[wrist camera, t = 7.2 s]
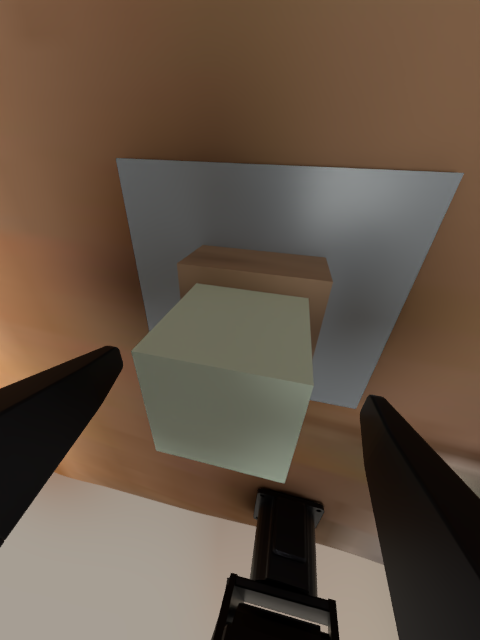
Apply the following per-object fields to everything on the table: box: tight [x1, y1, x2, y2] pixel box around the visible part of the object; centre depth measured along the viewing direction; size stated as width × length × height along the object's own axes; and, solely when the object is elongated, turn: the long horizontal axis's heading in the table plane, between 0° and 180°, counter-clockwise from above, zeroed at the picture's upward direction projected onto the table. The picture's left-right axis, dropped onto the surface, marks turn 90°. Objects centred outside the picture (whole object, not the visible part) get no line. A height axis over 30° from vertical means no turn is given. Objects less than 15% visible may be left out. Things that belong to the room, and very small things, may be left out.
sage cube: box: [131, 283, 314, 484], centre depth 9 cm, size 4×4×4 cm
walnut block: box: [177, 245, 333, 359], centre depth 12 cm, size 6×6×3 cm
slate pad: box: [116, 158, 464, 409], centre depth 13 cm, size 13×14×1 cm
